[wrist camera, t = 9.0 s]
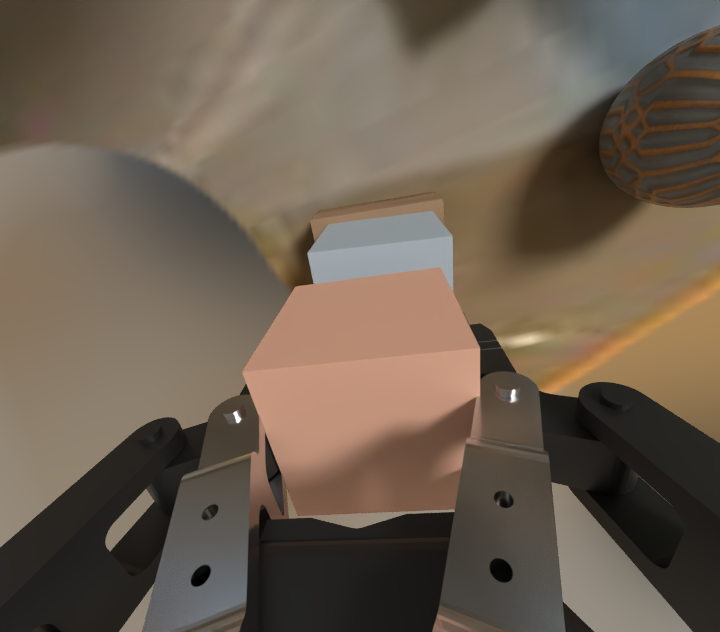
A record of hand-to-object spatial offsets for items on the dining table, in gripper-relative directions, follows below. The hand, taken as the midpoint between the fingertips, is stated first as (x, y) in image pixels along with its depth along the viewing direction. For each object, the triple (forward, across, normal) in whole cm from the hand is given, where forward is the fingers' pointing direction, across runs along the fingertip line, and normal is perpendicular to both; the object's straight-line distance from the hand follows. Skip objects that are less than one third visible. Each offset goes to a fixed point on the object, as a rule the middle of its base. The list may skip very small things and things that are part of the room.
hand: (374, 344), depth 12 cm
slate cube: (+8, 0, 0) cm, 8 cm away
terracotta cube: (0, 0, 0) cm, 0 cm away
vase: (+11, -15, -5) cm, 19 cm away
